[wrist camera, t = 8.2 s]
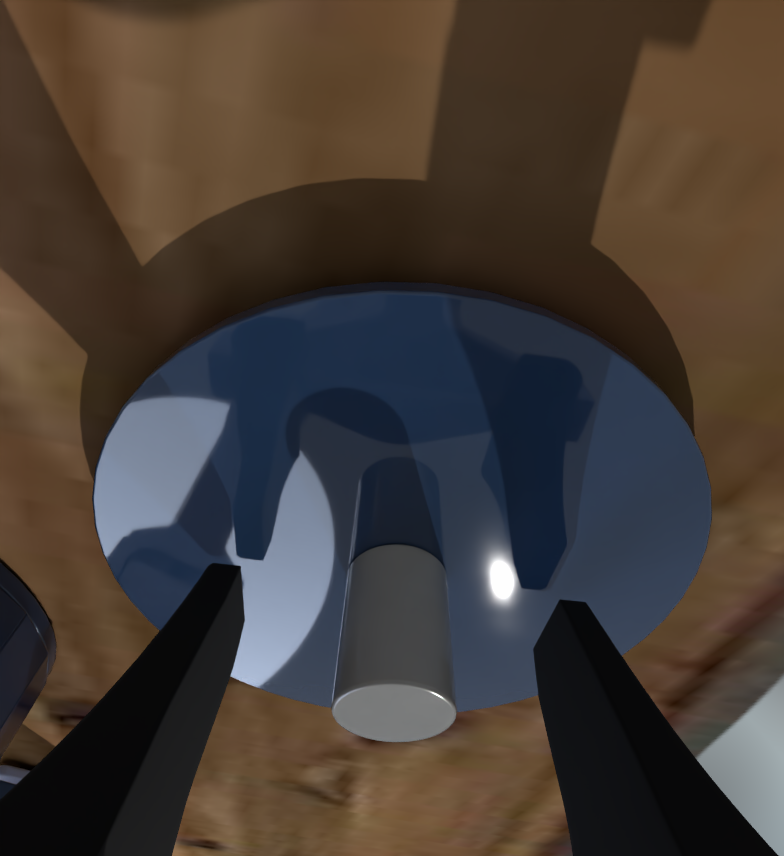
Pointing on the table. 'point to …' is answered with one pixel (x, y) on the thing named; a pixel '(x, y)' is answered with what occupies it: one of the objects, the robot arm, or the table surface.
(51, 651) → the pan
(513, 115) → the table surface
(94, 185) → the table surface
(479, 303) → the pan lid
